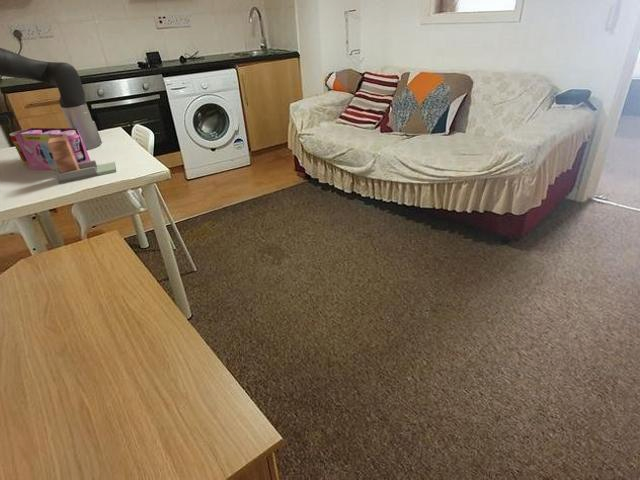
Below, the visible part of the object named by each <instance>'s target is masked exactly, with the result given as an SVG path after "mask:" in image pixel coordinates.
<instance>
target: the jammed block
mask: <svg viewBox="0 0 640 480" xmlns="http://www.w3.org/2000/svg"><path fill="white" fill-rule="evenodd" d="M48 145H49V147H50V149H51V152H52V154H53V156H54V159H55V161H56V163H57V165H58V168H59V170H60V172H61V173H65V172H70V171H75V170H80V169H79V166H78V164H77V161H76V159H75V156H74V154H73V151H72V149H71V146H70V144H69V142H68V139H67V137H66V136H63V137H57V138H51V139H49V141H48Z"/></svg>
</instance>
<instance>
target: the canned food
mask: <svg viewBox="0 0 640 480" xmlns="http://www.w3.org/2000/svg"><path fill="white" fill-rule="evenodd" d="M23 130H24V129H21V130H17V131H14V132H11V133H9V137H10V139H11V140H12V141H11V142H13V145H14V147H15V150H16V151H17V153H18V155H19V157H20V160H21V161H22V163H23V166H25V167H30V166H29V164H28V162H27V160H26V158H25V156H24V154H23V152H22V150H21V147H20V145H19V143H18V142H17V139H16V137H15V135H14V133H17V132H20V131H23Z"/></svg>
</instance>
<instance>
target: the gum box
mask: <svg viewBox="0 0 640 480" xmlns="http://www.w3.org/2000/svg"><path fill="white" fill-rule="evenodd" d="M22 130H23V131H21V130H19V131H20V132H17V133H14V135H15V137H16V139H17V142H18V143H19V145H20V147H21V150H22V152H23V154H24V156H25V158H26V160H27V162H28V164H29V166H28V167H29V168H30V170H31V169H32V170H46V171H47V170H48V171H58V169H57V167H58V165H57V163H56V161H55V159H54V156H53V154H52V152H51V149H50V147H49V145H48V141H49V139H51V138H57V137H63V136H66V137H67V139H68V142H69V144H70V146H71V149H72V151H73V154H74V156H75V159H76V161H77V163H83V162H88V161H92V160H91V159H90V156H89V155H90V154H89V153H88V151H87V150H88V149H86V148H85V145H84V143H83V140H82V138H81V135H80V133H79V131H78V129H76V128H69V127H62V128H61V127H60V128H59V127H58V128H57V127H30V128H26V129H22Z"/></svg>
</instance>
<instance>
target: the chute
mask: <svg viewBox="0 0 640 480" xmlns="http://www.w3.org/2000/svg"><path fill="white" fill-rule="evenodd" d="M77 164H78V166H79V169H80V170H75V171H70V172H65V173H61V172H60V170H59V168H58V167H57V169H58V170H57V171H58V173H56V174H55V175H54V176H55V178H56V180H57V182H58V184H63V183H68V182H74V181H78V180H82V179H88V178H92V177H99V176H102V175H103V176H104V175H108V174H113V173H117V164H116V162H115V161H112V162H107V163H102V164H101V163H100V164H97V162H96V160H95V159H93V160H91V161H88V162H83V163H77Z"/></svg>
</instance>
